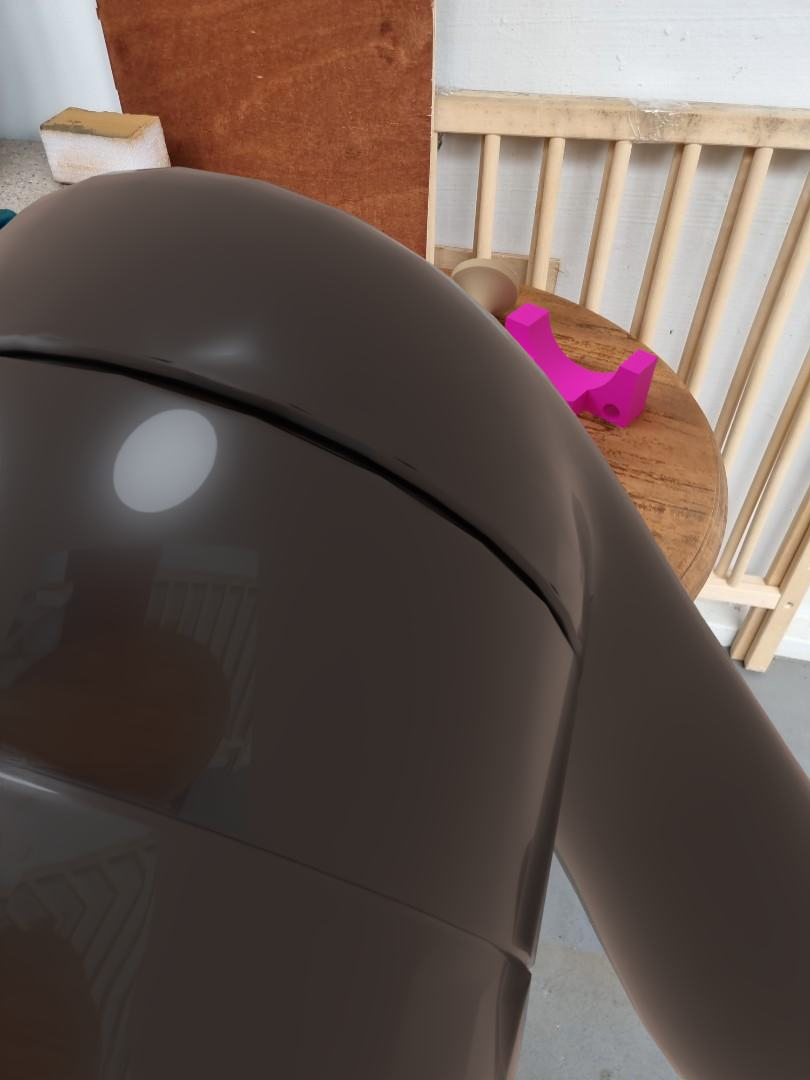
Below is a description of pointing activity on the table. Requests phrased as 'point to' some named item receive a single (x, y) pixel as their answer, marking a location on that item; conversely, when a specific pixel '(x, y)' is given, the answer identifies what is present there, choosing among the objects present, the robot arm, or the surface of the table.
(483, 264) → the door knob
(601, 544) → the robot arm
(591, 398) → the toy block
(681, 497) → the table surface
